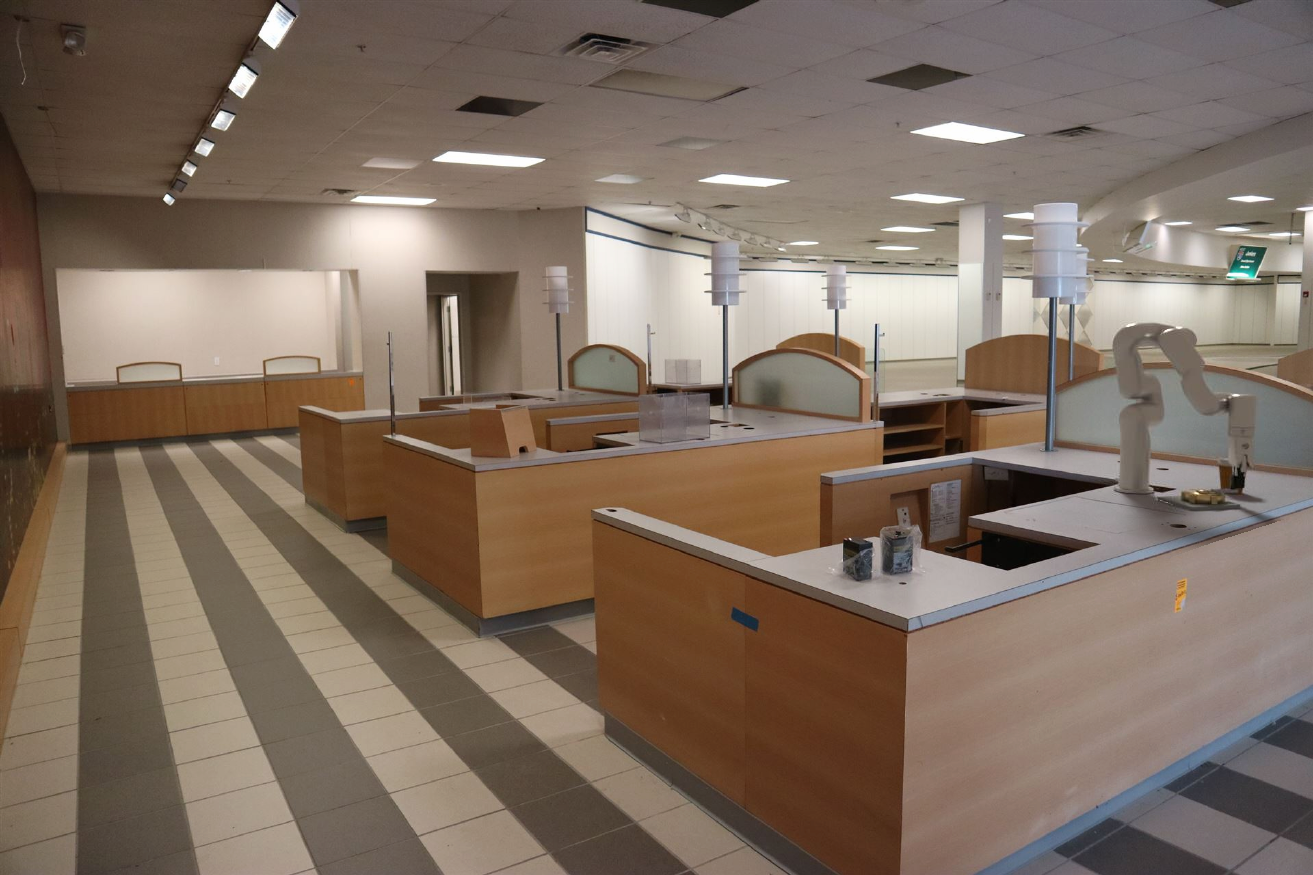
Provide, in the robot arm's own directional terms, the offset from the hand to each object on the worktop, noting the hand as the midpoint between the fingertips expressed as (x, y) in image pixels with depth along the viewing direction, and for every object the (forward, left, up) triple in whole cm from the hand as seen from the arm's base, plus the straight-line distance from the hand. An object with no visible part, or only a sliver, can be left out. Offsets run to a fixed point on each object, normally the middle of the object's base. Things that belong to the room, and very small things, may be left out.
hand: (1238, 487), depth 293 cm
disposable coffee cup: (-20, +14, -6) cm, 26 cm away
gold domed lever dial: (-4, -6, -5) cm, 9 cm away
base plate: (-5, -10, -6) cm, 13 cm away
